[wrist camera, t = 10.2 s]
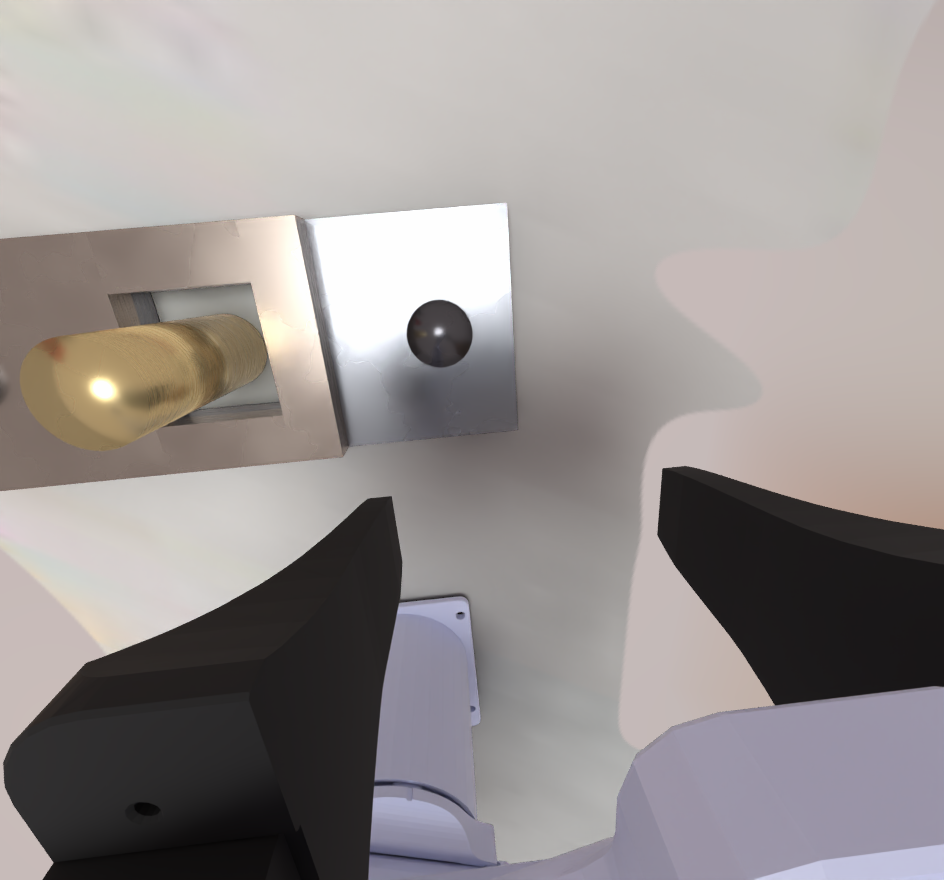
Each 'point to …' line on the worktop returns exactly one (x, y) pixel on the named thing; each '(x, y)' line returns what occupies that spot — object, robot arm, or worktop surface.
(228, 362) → the brass pin
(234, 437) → the door strike plate
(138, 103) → the worktop surface
